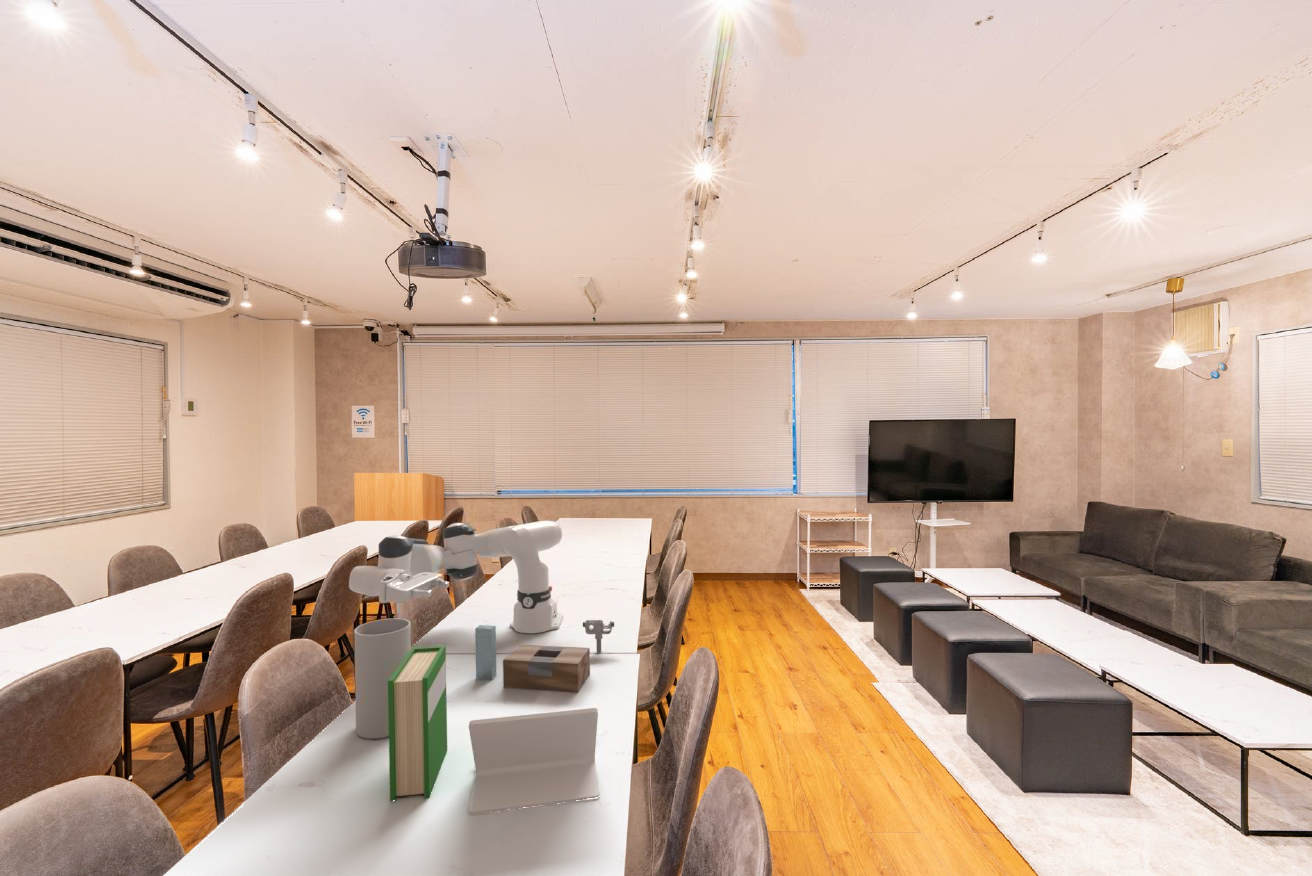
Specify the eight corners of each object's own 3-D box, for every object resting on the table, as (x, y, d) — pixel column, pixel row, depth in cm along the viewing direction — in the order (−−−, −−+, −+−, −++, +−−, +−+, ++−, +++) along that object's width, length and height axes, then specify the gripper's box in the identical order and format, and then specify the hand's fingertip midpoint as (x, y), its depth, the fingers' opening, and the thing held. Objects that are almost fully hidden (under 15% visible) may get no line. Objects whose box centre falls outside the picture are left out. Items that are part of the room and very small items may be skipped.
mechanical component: (613, 653, 190) (613, 622, 190) (582, 653, 190) (582, 623, 190) (614, 650, 193) (614, 619, 193) (584, 650, 193) (583, 620, 193)
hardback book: (429, 798, 116) (427, 678, 116) (390, 802, 115) (387, 680, 114) (447, 750, 133) (445, 645, 133) (413, 753, 132) (411, 648, 132)
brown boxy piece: (519, 670, 177) (519, 644, 177) (589, 674, 174) (589, 647, 174) (503, 687, 165) (502, 659, 165) (578, 692, 162) (577, 663, 162)
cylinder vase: (400, 710, 153) (398, 615, 152) (420, 727, 144) (418, 626, 144) (349, 727, 144) (347, 627, 144) (366, 746, 135) (364, 639, 135)
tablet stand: (600, 799, 115) (599, 713, 115) (468, 817, 110) (467, 727, 110) (592, 750, 133) (591, 676, 133) (478, 763, 128) (477, 686, 128)
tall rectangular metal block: (480, 675, 175) (479, 625, 174) (496, 675, 174) (495, 625, 174) (476, 679, 172) (475, 628, 171) (492, 680, 171) (491, 629, 171)
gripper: (418, 585, 188) (457, 590, 185) (375, 604, 168) (418, 610, 165) (419, 565, 188) (458, 570, 185) (376, 582, 168) (419, 588, 165)
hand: (439, 589), depth 175 cm, fingers open, 8 cm apart
